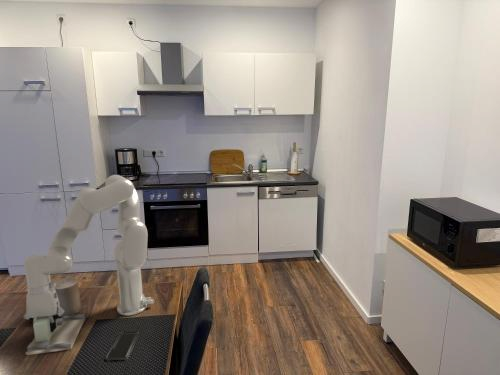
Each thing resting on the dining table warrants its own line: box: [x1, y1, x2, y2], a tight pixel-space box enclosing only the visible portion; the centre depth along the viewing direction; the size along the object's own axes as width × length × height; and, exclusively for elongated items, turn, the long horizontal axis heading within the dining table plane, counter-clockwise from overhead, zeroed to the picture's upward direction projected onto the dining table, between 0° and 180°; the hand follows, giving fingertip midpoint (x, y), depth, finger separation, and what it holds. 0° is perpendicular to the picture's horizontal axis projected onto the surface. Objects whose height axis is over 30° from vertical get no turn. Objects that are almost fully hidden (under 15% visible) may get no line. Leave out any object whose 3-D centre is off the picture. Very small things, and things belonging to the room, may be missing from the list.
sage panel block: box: [32, 316, 57, 342], centre depth 129 cm, size 4×10×8 cm, turn 12°
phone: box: [105, 331, 140, 361], centre depth 124 cm, size 8×1×15 cm
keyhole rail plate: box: [25, 313, 86, 356], centre depth 131 cm, size 15×19×2 cm
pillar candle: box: [54, 277, 83, 318], centre depth 146 cm, size 10×10×15 cm
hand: (46, 330), depth 129 cm, fingers closed on sage panel block, 4 cm apart
